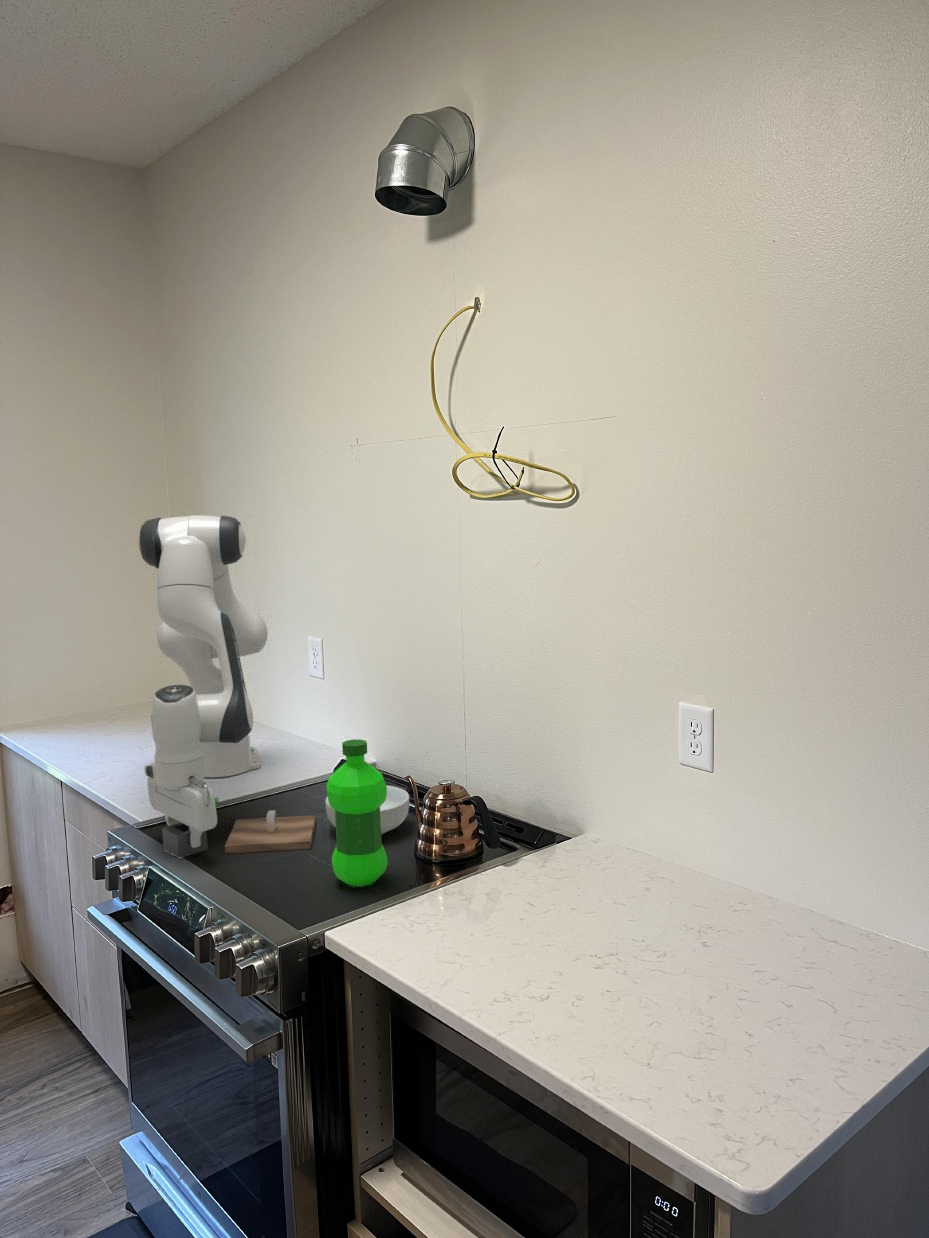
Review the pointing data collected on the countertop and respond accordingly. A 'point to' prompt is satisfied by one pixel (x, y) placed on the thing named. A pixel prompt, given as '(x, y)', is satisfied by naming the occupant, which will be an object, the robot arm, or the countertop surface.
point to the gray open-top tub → (181, 840)
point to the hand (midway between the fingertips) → (185, 841)
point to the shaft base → (271, 834)
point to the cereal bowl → (385, 809)
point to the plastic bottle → (357, 817)
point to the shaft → (271, 821)
